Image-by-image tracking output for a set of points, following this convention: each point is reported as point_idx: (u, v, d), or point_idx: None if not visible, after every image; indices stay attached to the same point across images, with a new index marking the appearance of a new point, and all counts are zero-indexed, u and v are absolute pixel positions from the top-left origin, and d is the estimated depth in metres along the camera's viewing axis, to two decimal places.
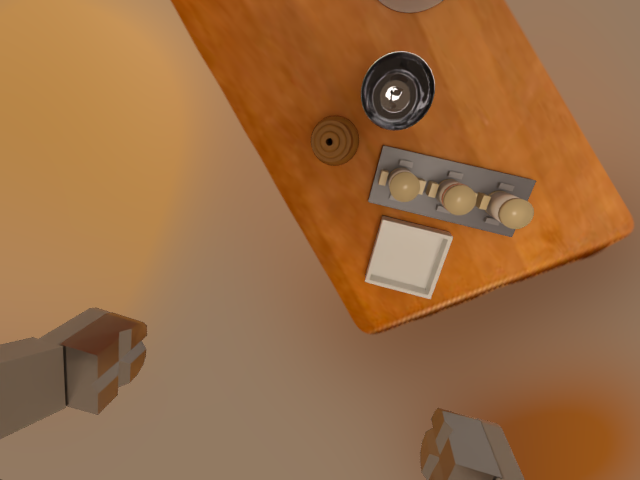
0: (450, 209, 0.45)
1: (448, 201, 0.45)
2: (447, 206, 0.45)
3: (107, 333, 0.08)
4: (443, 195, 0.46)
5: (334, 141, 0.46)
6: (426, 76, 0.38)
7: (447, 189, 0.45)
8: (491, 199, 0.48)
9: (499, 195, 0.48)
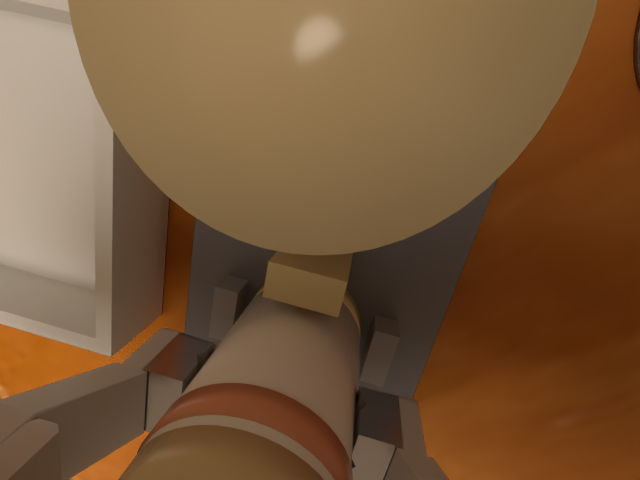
0: None
1: None
2: None
3: (185, 356, 0.08)
4: (254, 421, 0.05)
5: None
6: None
7: (305, 451, 0.05)
8: None
9: None
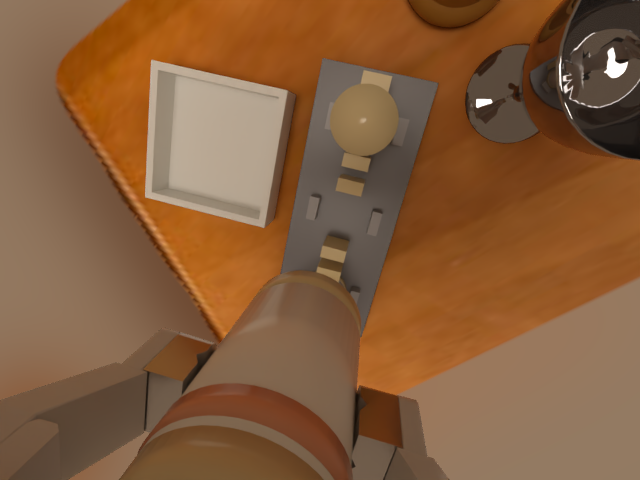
0: None
1: None
2: None
3: (185, 356, 0.08)
4: (255, 421, 0.05)
5: None
6: None
7: (305, 451, 0.05)
8: None
9: None
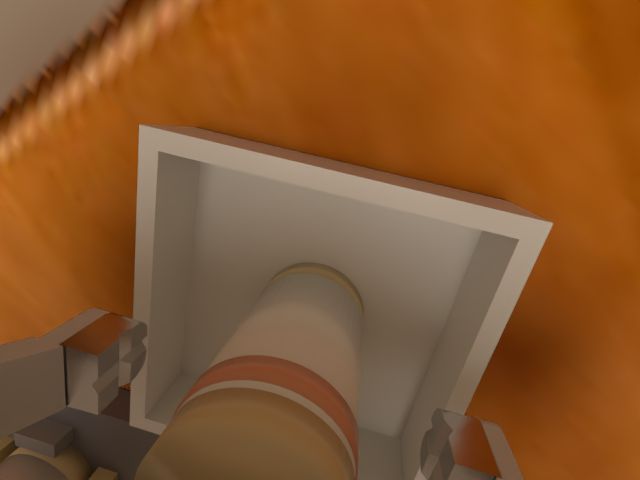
0: (164, 464, 0.06)
1: (222, 456, 0.05)
2: (183, 448, 0.06)
3: (107, 333, 0.08)
4: (276, 384, 0.06)
5: None
6: None
7: (320, 409, 0.06)
8: None
9: None
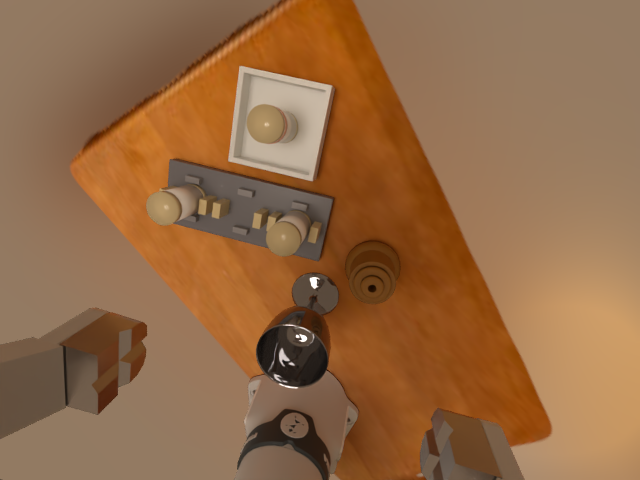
0: (253, 112, 0.35)
1: (262, 109, 0.35)
2: (256, 108, 0.35)
3: (107, 333, 0.08)
4: (271, 105, 0.36)
5: (366, 288, 0.40)
6: (270, 352, 0.39)
7: (278, 109, 0.36)
8: (197, 208, 0.44)
9: (190, 215, 0.44)
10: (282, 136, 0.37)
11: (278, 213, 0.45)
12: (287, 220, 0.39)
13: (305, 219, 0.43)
